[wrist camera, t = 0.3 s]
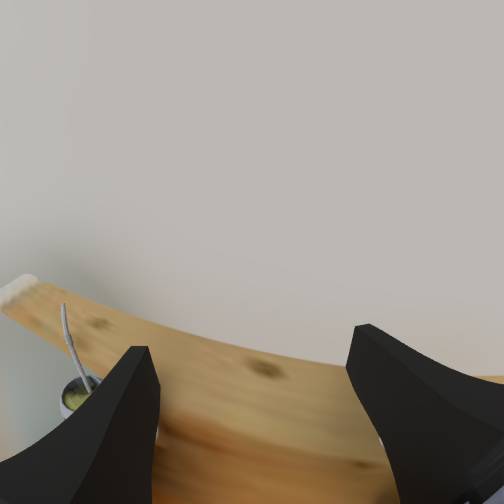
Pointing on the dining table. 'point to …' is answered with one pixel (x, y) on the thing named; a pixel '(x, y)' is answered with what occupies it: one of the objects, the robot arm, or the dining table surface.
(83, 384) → the mate gourd
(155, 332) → the dining table surface
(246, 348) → the dining table surface
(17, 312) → the dining table surface
